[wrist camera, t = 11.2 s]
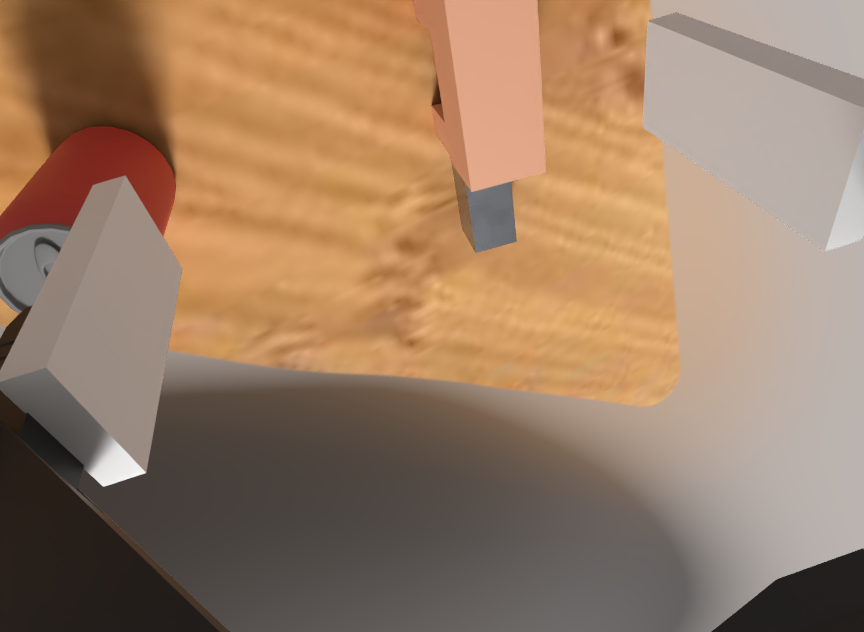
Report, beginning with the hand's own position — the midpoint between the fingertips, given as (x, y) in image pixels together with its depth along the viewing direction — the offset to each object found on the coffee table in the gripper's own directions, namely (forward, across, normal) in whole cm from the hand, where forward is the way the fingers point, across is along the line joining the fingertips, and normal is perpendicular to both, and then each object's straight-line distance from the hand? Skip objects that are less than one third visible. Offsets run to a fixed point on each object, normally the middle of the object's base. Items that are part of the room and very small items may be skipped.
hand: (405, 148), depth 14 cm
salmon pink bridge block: (+22, +7, -5) cm, 24 cm away
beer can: (+23, -15, -6) cm, 28 cm away
